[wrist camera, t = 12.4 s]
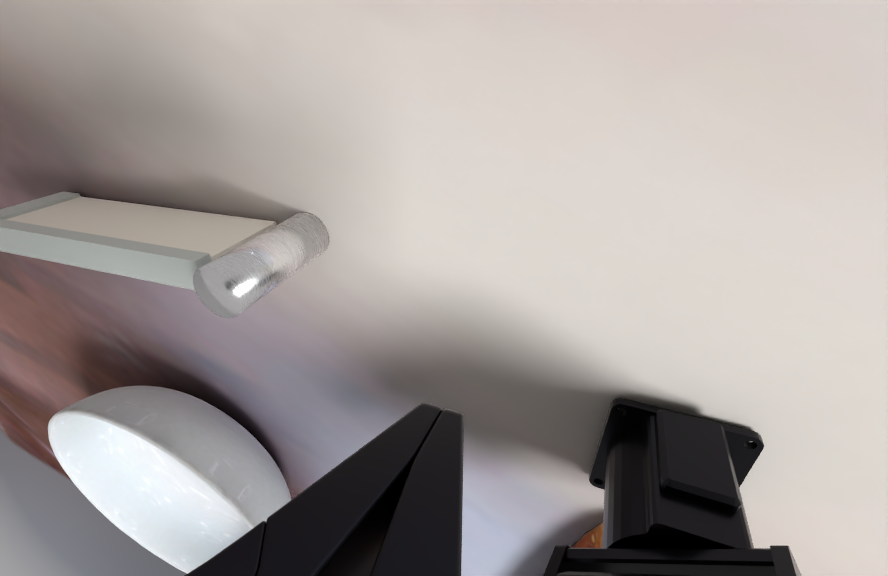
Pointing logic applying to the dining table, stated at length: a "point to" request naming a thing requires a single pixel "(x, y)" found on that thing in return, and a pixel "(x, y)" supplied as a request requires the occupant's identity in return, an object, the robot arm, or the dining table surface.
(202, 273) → the hinge post
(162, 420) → the serving bowl
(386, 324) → the dining table surface
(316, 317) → the dining table surface
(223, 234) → the bar
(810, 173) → the dining table surface
